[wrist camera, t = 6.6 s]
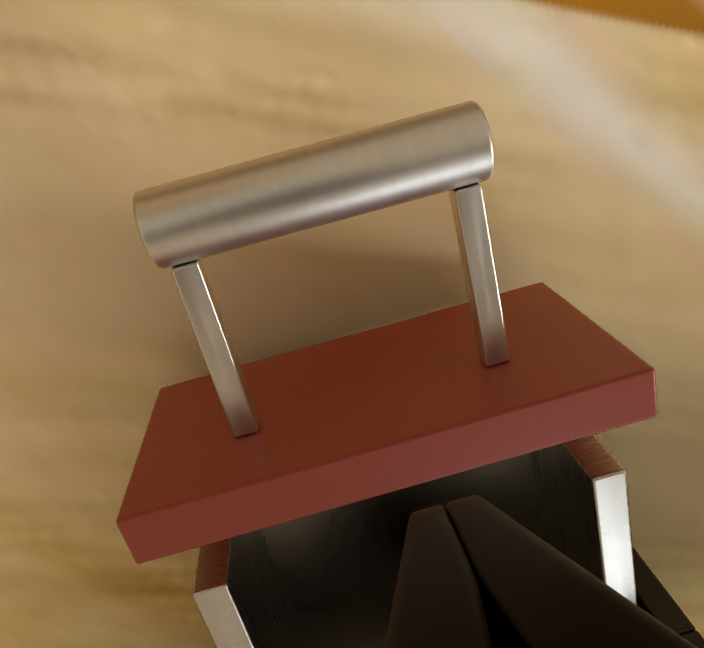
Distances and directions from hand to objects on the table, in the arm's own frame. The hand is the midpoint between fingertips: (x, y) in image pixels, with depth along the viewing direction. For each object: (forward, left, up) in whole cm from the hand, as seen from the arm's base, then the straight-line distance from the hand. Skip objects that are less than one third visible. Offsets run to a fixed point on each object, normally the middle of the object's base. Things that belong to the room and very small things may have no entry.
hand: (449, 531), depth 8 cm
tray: (+2, +5, -11) cm, 12 cm away
